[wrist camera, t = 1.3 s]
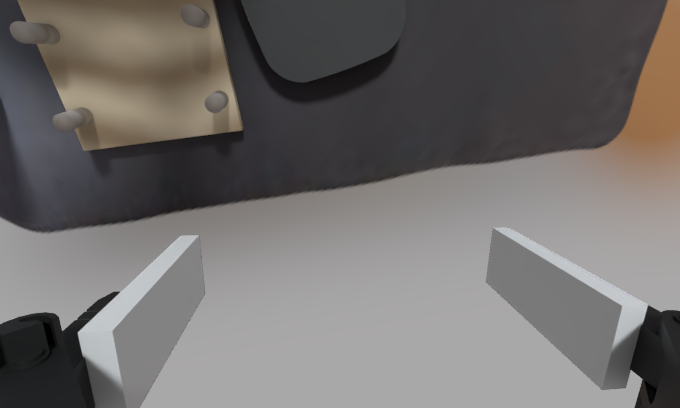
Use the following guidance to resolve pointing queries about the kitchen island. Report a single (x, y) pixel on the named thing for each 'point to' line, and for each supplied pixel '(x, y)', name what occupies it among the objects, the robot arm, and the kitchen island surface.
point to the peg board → (134, 68)
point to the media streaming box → (323, 33)
